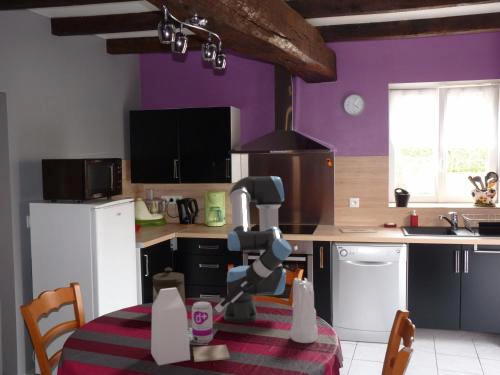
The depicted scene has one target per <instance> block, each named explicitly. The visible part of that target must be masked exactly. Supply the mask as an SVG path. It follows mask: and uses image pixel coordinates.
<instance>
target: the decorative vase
mask: <svg viewBox="0 0 500 375" xmlns="http://www.w3.org/2000/svg"><path fill="white" fill-rule="evenodd" d="M292 304H293V305H292V324H291V325H290V338H291V340H292V341H294V342H297V343H302V344H310V343H314V342H316V341H317V340H318V339H319V337H318V336H319V335H318V334H319V333H318V332H319V330H318V326H317V310H316V309H315V292H314V286H313V282H311V281H308V278H306V277H304V280H302V278H298V277H295V278H293V282H292Z"/></svg>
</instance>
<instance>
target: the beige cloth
mask: <svg viewBox="0 0 500 375" xmlns="http://www.w3.org/2000/svg"><path fill="white" fill-rule="evenodd" d="M192 354H193V360H194V363H196V362H209V361H220V360H221V361H223V360H230V359H231V358H230V353H229V349H228V347H227V344H219V345H217V344H216V345H207V346H205V345H204V346H192Z"/></svg>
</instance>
